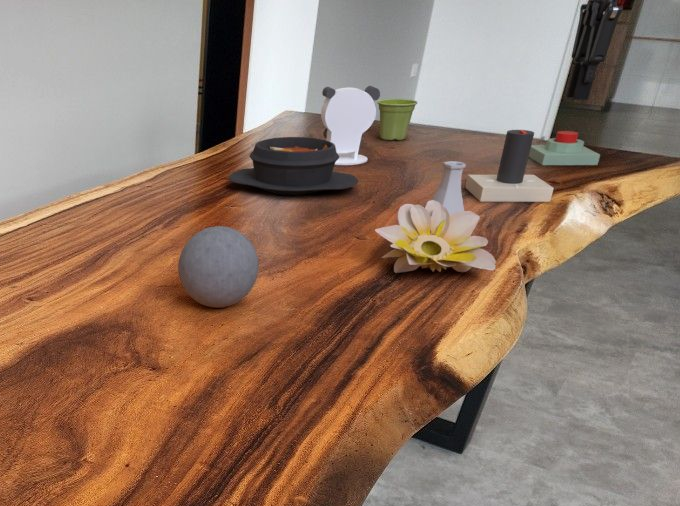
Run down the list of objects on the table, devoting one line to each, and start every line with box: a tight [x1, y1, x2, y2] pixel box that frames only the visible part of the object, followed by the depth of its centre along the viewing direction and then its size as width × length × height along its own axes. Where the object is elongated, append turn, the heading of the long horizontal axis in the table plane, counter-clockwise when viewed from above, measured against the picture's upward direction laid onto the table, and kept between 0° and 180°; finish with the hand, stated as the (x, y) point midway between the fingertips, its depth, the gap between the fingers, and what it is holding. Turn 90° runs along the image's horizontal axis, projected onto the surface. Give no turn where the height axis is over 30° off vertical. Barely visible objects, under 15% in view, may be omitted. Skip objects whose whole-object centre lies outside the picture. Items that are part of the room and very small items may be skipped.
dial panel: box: [464, 174, 555, 203], centre depth 132 cm, size 12×10×3 cm
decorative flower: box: [374, 199, 497, 274], centre depth 97 cm, size 15×11×10 cm
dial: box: [496, 129, 535, 184], centre depth 129 cm, size 4×4×9 cm
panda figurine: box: [320, 85, 381, 166], centre depth 158 cm, size 12×11×15 cm
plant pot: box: [377, 98, 419, 141], centre depth 178 cm, size 9×9×9 cm
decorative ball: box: [177, 225, 260, 309], centre depth 90 cm, size 10×10×10 cm
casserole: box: [227, 136, 359, 196], centre depth 139 cm, size 25×19×8 cm
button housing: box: [528, 137, 601, 166], centre depth 154 cm, size 11×10×4 cm
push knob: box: [555, 130, 579, 143], centre depth 153 cm, size 4×4×2 cm
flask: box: [431, 160, 467, 216], centre depth 115 cm, size 7×7×10 cm
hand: (576, 98), depth 149 cm, fingers open, 3 cm apart
